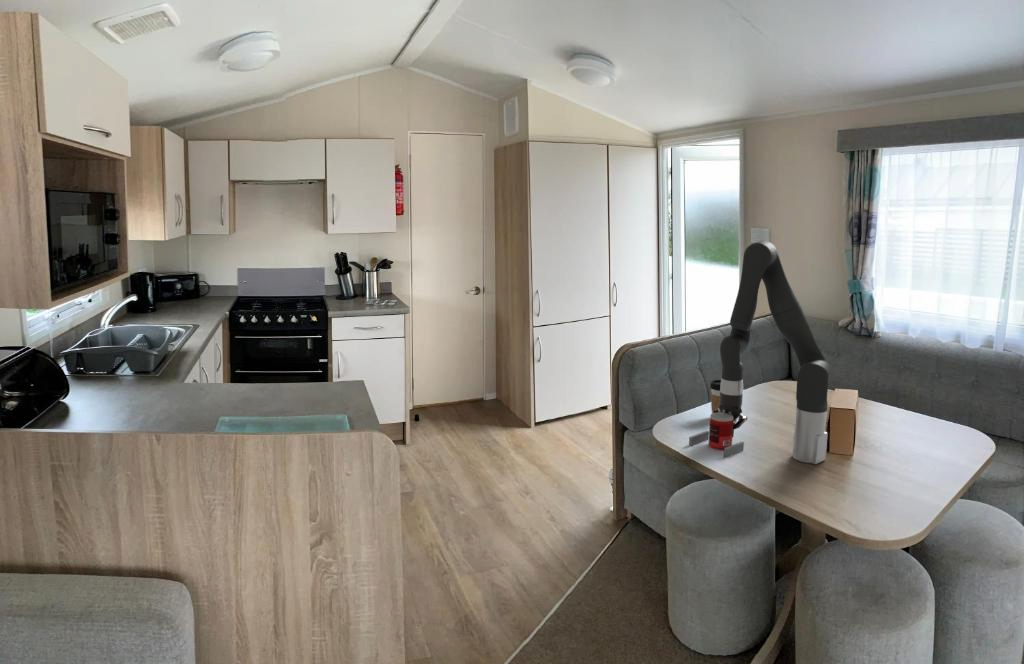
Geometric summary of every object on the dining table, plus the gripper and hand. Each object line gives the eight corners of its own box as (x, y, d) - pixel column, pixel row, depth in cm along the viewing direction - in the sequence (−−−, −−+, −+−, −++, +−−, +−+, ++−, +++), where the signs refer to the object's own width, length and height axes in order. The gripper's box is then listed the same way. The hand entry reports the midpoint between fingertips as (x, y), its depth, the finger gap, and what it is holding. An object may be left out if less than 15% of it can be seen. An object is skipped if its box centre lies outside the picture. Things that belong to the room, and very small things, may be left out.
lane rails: (743, 450, 240) (743, 442, 239) (726, 457, 234) (726, 449, 233) (706, 438, 251) (706, 430, 251) (688, 445, 245) (689, 436, 244)
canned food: (734, 444, 245) (735, 414, 243) (728, 452, 239) (730, 421, 236) (711, 440, 249) (713, 410, 247) (705, 447, 242) (707, 417, 240)
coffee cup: (726, 423, 266) (728, 385, 263) (705, 419, 271) (707, 382, 268) (734, 417, 273) (736, 380, 270) (713, 413, 278) (715, 377, 275)
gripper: (754, 393, 240) (751, 441, 244) (721, 385, 250) (719, 431, 254) (741, 397, 236) (738, 446, 239) (708, 389, 246) (706, 436, 249)
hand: (728, 438), depth 247 cm, fingers closed
